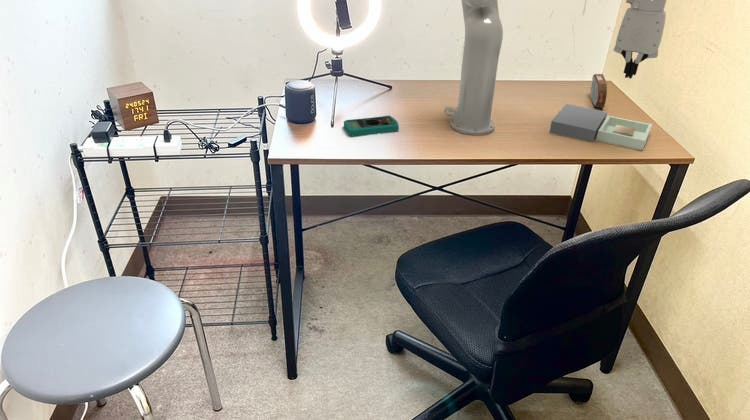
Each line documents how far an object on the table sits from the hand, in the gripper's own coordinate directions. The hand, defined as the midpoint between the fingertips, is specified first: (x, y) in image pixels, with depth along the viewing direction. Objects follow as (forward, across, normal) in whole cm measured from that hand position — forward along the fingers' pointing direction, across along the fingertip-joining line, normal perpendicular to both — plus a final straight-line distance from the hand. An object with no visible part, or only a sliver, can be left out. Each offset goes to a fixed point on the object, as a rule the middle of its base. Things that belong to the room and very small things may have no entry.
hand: (628, 76), depth 147 cm
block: (+14, +2, 0) cm, 15 cm away
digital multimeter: (+18, -59, -34) cm, 71 cm away
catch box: (+17, +3, 0) cm, 17 cm away
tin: (+17, -10, +24) cm, 31 cm away
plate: (+17, -10, 0) cm, 20 cm away
